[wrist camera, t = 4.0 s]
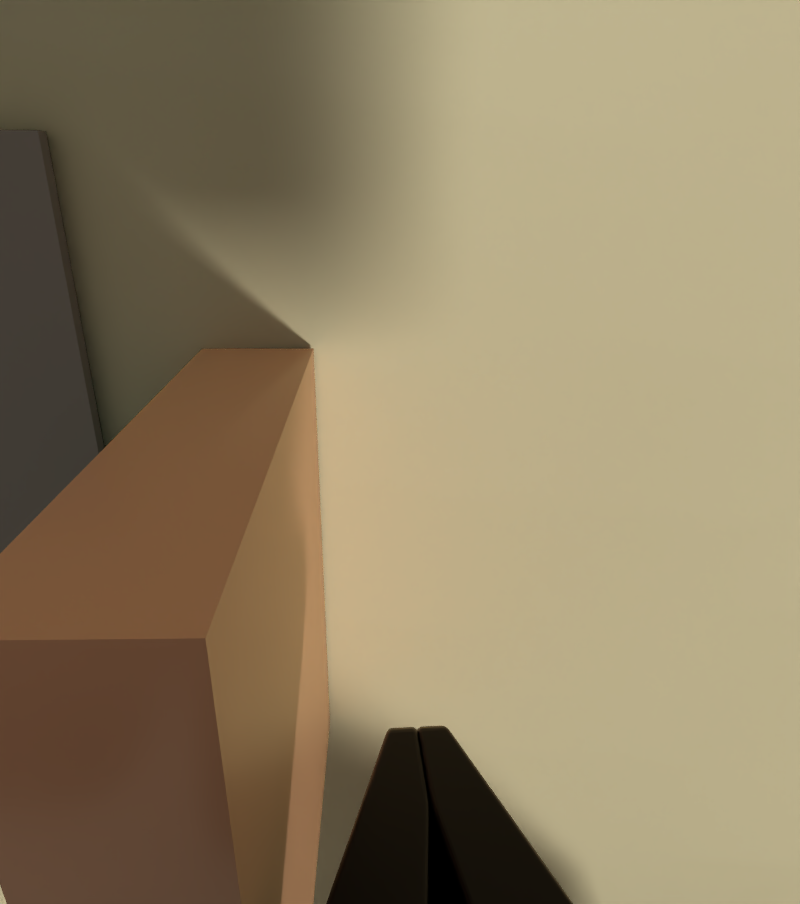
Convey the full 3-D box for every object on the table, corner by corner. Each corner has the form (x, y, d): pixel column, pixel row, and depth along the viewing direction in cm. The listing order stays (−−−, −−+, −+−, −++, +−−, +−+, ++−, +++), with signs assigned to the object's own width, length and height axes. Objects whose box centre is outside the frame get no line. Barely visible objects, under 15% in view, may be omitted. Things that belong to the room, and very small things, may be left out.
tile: (330, 722, 16) (284, 1220, 8) (233, 723, 15) (99, 1227, 8) (313, 348, 12) (205, 637, 5) (187, 347, 12) (-127, 641, 5)
